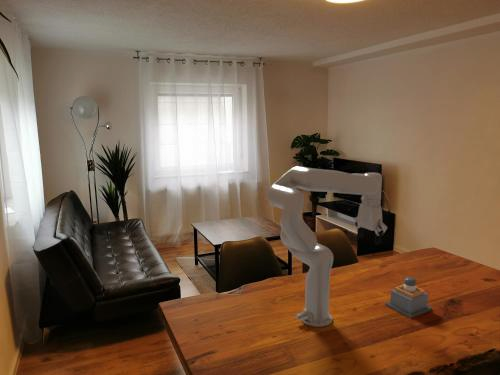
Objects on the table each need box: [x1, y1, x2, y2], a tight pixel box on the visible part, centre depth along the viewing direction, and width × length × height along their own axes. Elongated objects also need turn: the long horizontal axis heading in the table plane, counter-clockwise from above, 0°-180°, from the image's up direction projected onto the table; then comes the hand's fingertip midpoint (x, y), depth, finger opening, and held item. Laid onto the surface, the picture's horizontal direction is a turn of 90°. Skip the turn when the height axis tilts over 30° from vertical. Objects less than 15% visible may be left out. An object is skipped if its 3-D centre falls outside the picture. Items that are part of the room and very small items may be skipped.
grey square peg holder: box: [384, 283, 433, 319], centre depth 167 cm, size 14×13×8 cm
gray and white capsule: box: [403, 276, 417, 294], centre depth 166 cm, size 5×5×6 cm
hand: (368, 240), depth 168 cm, fingers open, 9 cm apart
